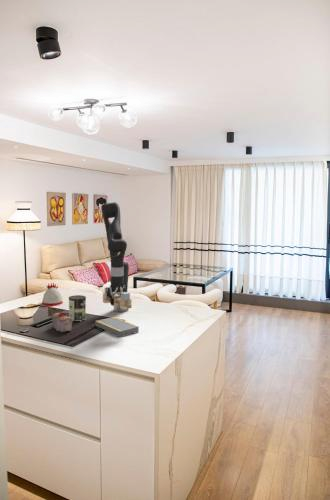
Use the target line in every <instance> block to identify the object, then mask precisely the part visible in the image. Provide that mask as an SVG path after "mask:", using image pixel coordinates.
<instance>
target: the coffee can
mask: <svg viewBox="0 0 330 500" xmlns="http://www.w3.org/2000/svg"><path fill="white" fill-rule="evenodd" d="M86 299H87V297H86V295H79V294H77V295H76V294H75V295H71V296H69V297H68V317H70V318H72V322H73V321H80V322H83V321H82V320H84V321H86V319H87V317H86V315H87V314H86V313H87V312H86V311H87V309H86V308H87V307H86V306H87V304H86V303H87V302H86Z"/></svg>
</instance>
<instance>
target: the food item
mask: <svg viewBox="0 0 330 500" xmlns="http://www.w3.org/2000/svg"><path fill="white" fill-rule="evenodd" d="M72 326H73V321H72V318H70V317H69V315H68V314H67V313H66V312H63V311H61V312H55V313H53V314H51V328H53V329H55V331H57V332H61V333H67V332H66V331H69V332H71V331H72Z"/></svg>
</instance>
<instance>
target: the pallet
mask: <svg viewBox="0 0 330 500" xmlns="http://www.w3.org/2000/svg"><path fill="white" fill-rule="evenodd" d="M113 299H114V305H111V306H113V307H114V306H119V305H120V309H123V310H124V309H128V310H129V309H132V302H133V301H132V300H133V299H132V298H130V299H129V300H122V299H121V296H120V295H117V294H115V296H114V298H113ZM102 303H104V304H109V303H110V298H108V297H107V294H105V293H102Z"/></svg>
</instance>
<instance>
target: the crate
mask: <svg viewBox="0 0 330 500" xmlns="http://www.w3.org/2000/svg"><path fill="white" fill-rule="evenodd" d="M121 299H122V300H129V299H131V293H130V292H129V291H128V292H123V293H121Z"/></svg>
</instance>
